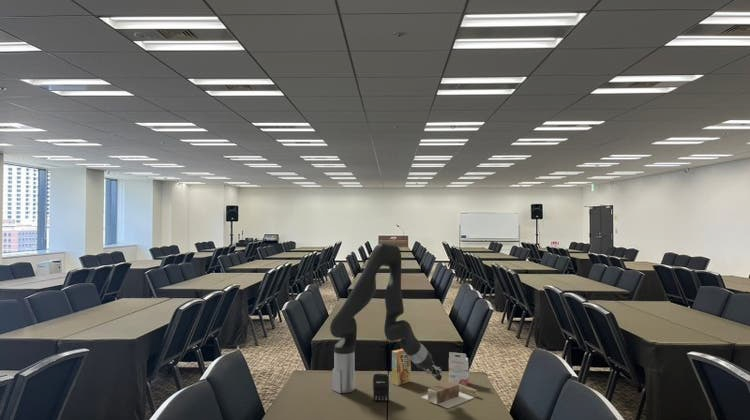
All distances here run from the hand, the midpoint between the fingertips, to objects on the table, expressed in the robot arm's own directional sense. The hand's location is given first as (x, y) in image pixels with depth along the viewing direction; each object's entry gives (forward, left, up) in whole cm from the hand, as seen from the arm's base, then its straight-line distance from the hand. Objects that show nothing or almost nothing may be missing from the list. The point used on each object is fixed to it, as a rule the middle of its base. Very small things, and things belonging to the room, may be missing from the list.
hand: (439, 378), depth 198 cm
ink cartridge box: (+23, +9, -10) cm, 26 cm away
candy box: (+3, +27, -10) cm, 29 cm away
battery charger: (-19, +16, -10) cm, 27 cm away
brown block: (-5, 0, -6) cm, 8 cm away
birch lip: (+15, 0, -9) cm, 18 cm away
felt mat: (+5, 0, -9) cm, 11 cm away
